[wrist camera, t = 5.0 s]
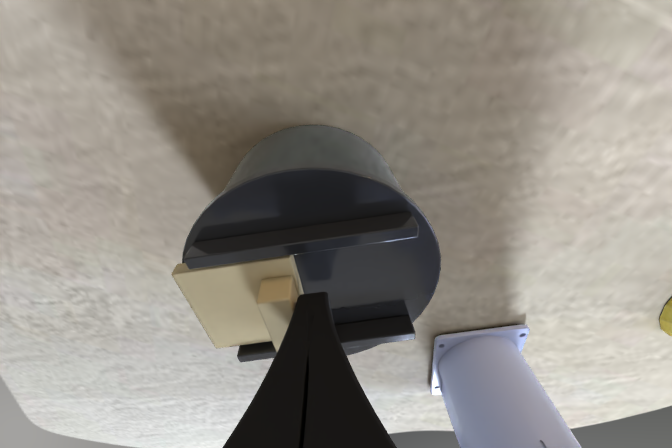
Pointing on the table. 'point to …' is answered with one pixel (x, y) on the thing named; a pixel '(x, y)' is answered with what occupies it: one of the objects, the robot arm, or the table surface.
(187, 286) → the slider
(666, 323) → the handbell
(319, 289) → the canister
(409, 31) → the table surface
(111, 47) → the table surface
